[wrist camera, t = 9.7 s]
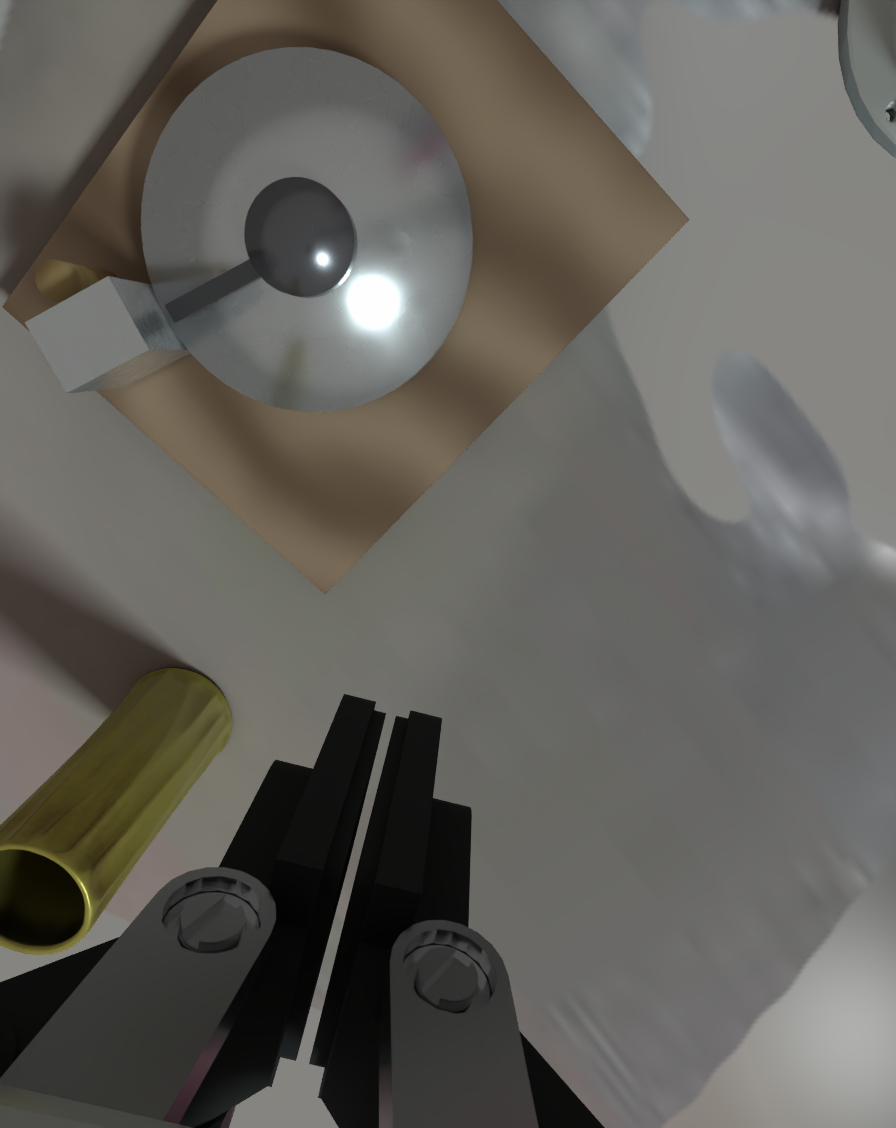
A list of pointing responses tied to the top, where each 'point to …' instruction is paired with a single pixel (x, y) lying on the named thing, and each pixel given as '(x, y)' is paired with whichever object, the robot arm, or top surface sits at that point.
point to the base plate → (493, 299)
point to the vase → (105, 809)
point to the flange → (284, 242)
